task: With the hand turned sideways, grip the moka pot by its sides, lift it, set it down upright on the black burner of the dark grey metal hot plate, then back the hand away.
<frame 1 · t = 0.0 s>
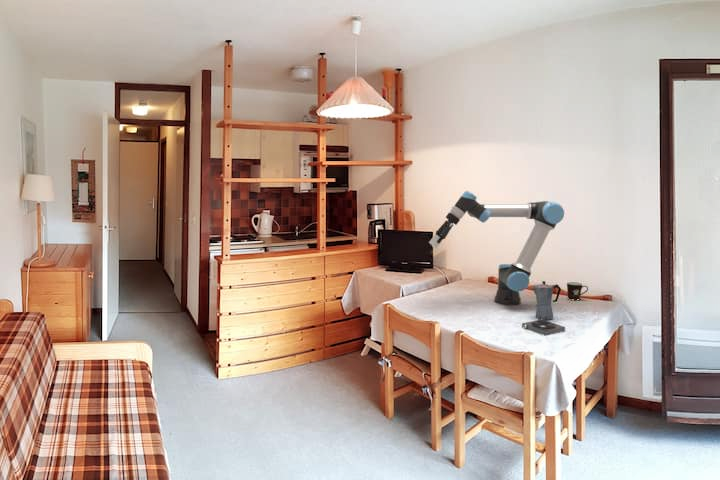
hand: (432, 245, 264), 36 cm above the table, tool tilted 35°, fingers open, 13 cm apart
moka pot: (544, 318, 248), on the table
hot plate: (543, 328, 229), on the table
coffee mug: (576, 300, 285), on the table
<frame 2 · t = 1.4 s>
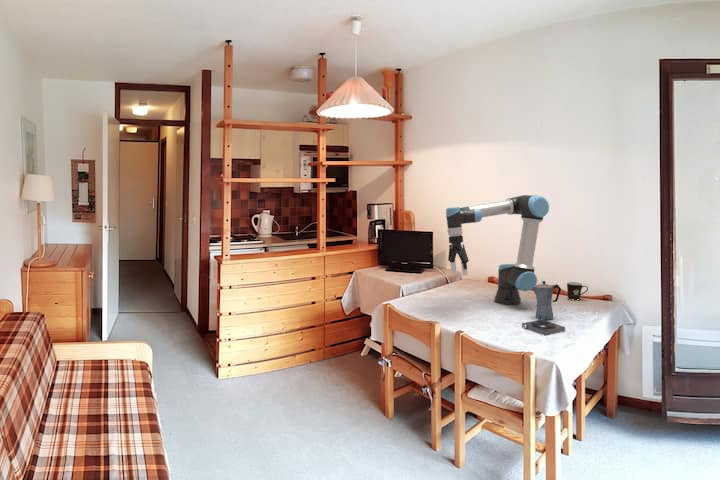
hand: (459, 274, 251), 22 cm above the table, tool pointing down, fingers open, 13 cm apart
nothing on the table moved.
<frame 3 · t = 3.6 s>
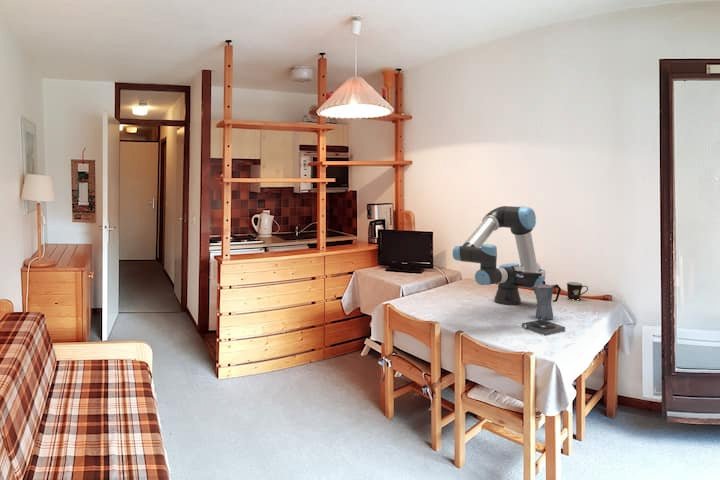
hand: (533, 271, 240), 26 cm above the table, tool horizontal, fingers open, 13 cm apart
nothing on the table moved.
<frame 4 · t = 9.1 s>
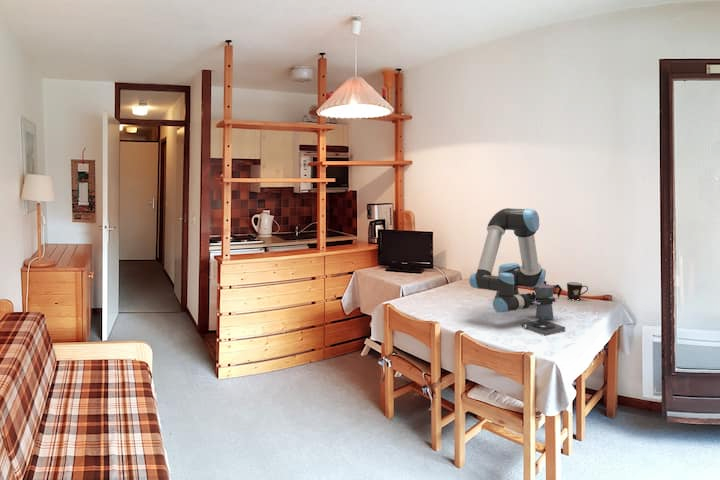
hand: (550, 296, 248), 11 cm above the table, tool horizontal, fingers closed on moka pot, 8 cm apart
moka pot: (544, 317, 248), on the table, touching gripper
everything else where it was.
when the fingers open (14 cm above the table, at t = 16.2 s): moka pot drops 1 cm, resting on hot plate.
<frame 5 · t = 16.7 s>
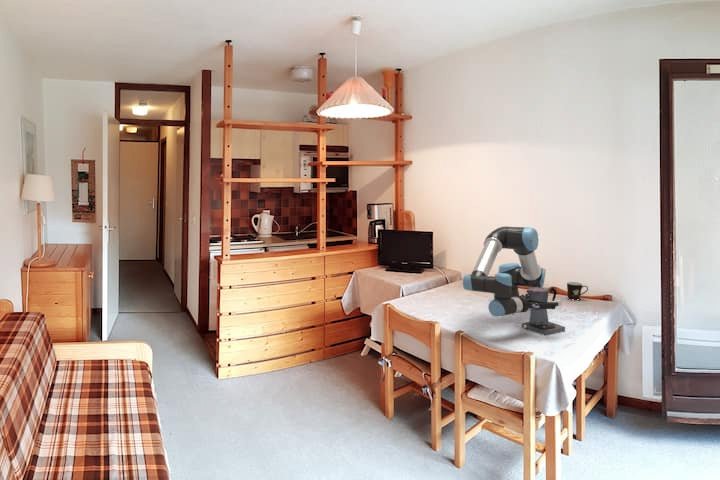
hand: (549, 299, 228), 14 cm above the table, tool horizontal, fingers open, 13 cm apart
moka pot: (539, 323, 230), point 2 cm above the table, touching gripper, hot plate
everything else where it was.
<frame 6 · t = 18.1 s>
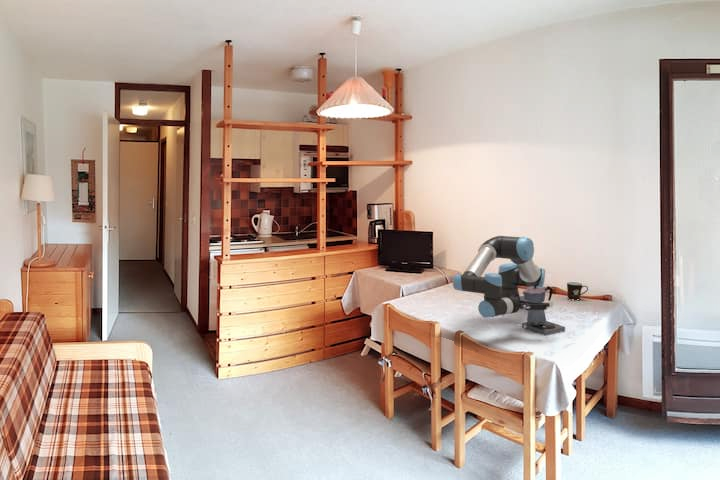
hand: (540, 300, 225), 15 cm above the table, tool horizontal, fingers open, 13 cm apart
moka pot: (536, 321, 231), point 3 cm above the table, touching gripper, hot plate
everything else where it was.
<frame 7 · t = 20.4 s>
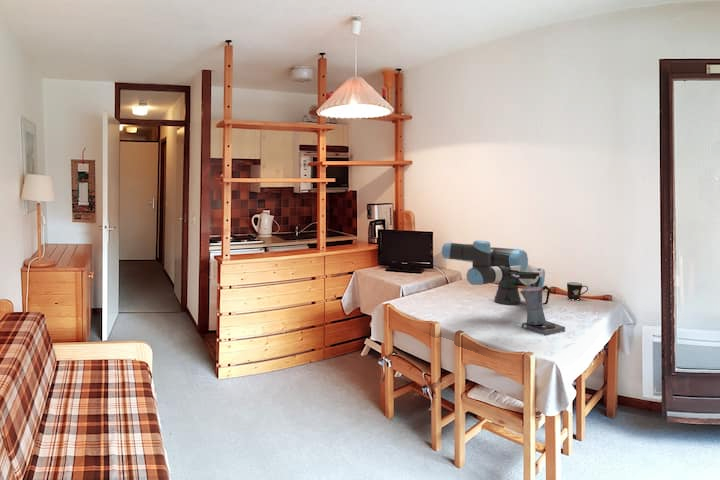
hand: (530, 270, 221), 30 cm above the table, tool horizontal, fingers open, 13 cm apart
moka pot: (536, 323, 231), point 2 cm above the table, touching hot plate
everything else where it was.
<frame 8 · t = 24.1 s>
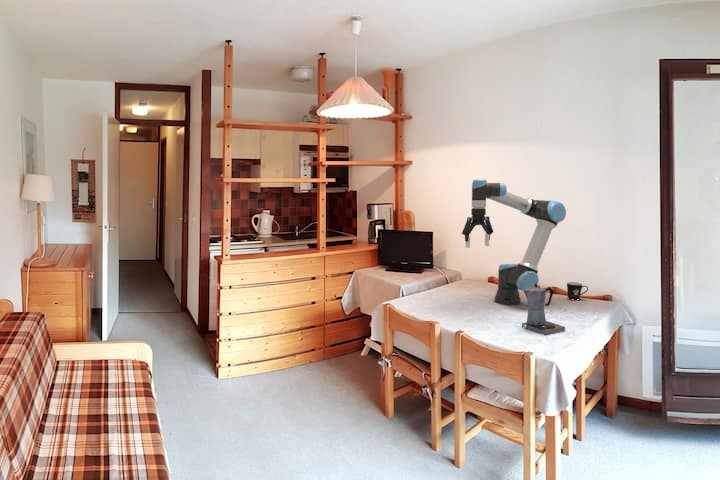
hand: (477, 246, 255), 37 cm above the table, tool pointing down, fingers open, 13 cm apart
at the end: moka pot 3.3 cm from the hot plate (horizontally); moka pot tilted 0°; moka pot touching hot plate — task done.
